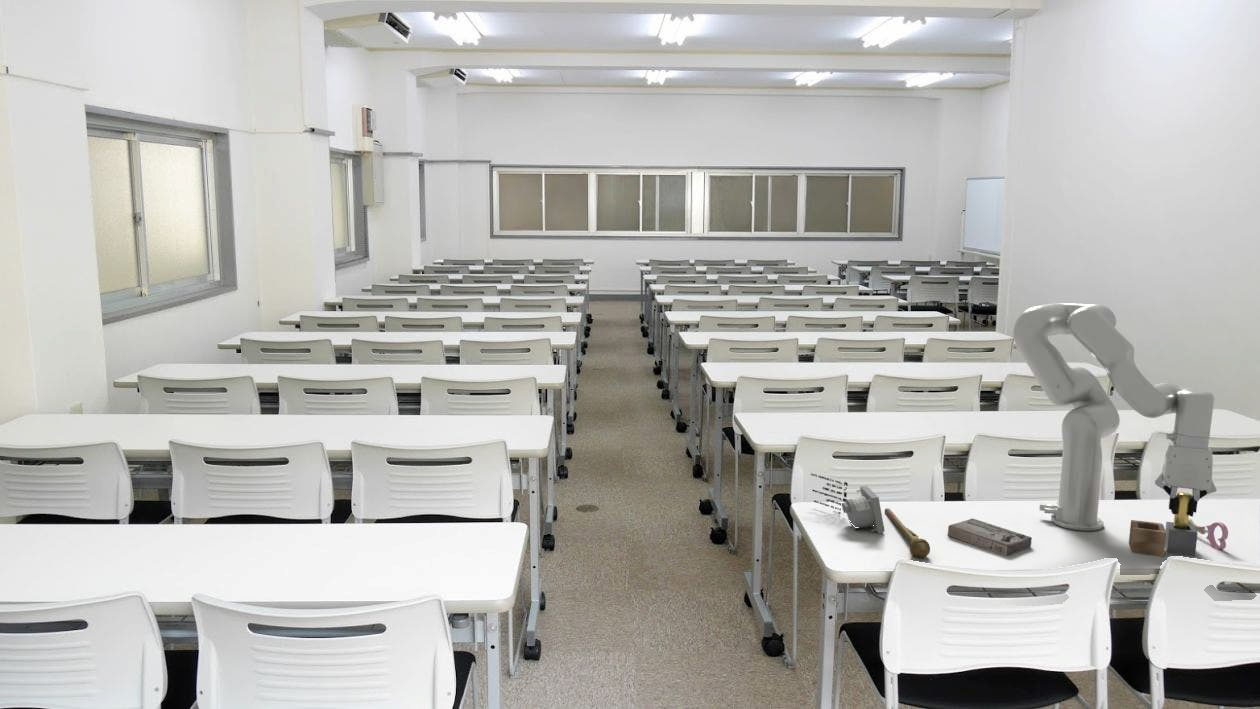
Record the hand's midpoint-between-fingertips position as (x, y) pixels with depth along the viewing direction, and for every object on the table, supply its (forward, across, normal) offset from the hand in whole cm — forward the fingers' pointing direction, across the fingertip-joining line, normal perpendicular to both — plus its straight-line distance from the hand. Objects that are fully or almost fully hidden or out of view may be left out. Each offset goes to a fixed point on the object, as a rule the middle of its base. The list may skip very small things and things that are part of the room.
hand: (1181, 513), depth 238 cm
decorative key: (+10, +6, +12) cm, 17 cm away
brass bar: (+7, 0, 0) cm, 7 cm away
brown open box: (+10, -7, -3) cm, 12 cm away
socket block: (+10, 0, 0) cm, 10 cm away
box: (+11, -43, -12) cm, 46 cm away
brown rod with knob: (+11, -63, -16) cm, 66 cm away
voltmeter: (+11, -79, -10) cm, 80 cm away
